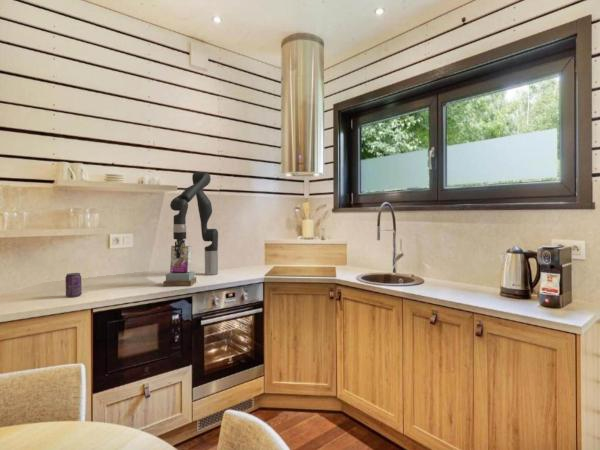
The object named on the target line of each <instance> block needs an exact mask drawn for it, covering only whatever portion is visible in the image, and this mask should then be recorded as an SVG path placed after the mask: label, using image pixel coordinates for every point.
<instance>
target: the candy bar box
mask: <svg viewBox="0 0 600 450" xmlns="http://www.w3.org/2000/svg"><path fill="white" fill-rule="evenodd" d="M170 247H171V250H170V267H169V268H170V269H169V271H170V272H190V271H191V265H192V264H191V260H192V246H191V245H185V246H182V249H181V250H180V258H176V251H175V245H171V246H170ZM170 272H169V273H170Z"/></svg>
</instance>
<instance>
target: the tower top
mask: <svg viewBox="0 0 600 450" xmlns="http://www.w3.org/2000/svg"><path fill="white" fill-rule="evenodd" d="M194 277H195V271H191V270H190V272H169V273H166V274H165V281H189V280H191V279H193V278H194Z"/></svg>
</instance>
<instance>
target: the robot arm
mask: <svg viewBox="0 0 600 450" xmlns="http://www.w3.org/2000/svg"><path fill="white" fill-rule="evenodd" d="M191 179H192V180H191V181H192V185H190V186H188V187H187V188H186V189H184V190H183V192H181V194H179V195H177V196H176V197H174V198H173V199H172V200H171V201H170V204H169V206H170V209H171V210H172V211H175V212H177V211H178V213H177V214H174V215H173V229H172V232H173V233H172V237H173V240H176V241H174V246H175V251H176V258H180V250H181V249H182V246H186V240H187V225H186V221H187V220H186V216H187V214H188V210H189V203H190V202H191V201H192V200H193V198H194V197H196V201H197V209H198V214H199V219H200V229H201V238H202V240H203V241H204V242H211V244H209V245H207V246H205V247H204V275H206V276H214V275H218V274H219V261H218V260H219V257H218V256H219V255H218V253H219V252H218V251H219V250H218V246H219V231H218V229H217V228H208V222H209V220H210V217H211V216H212V214H213V208H212V207H213V206H212V203H211V202H212V201H211V200H210V199H209V198H208V196H207V195H206V194H205V192H204V189H205V188H206V187H207V186H208V185H209V184H210V183H211V181H212V180H211V175H210V173H209V172H206V171H194V172H193V173H192V177H191Z"/></svg>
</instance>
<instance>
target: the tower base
mask: <svg viewBox="0 0 600 450" xmlns="http://www.w3.org/2000/svg"><path fill="white" fill-rule="evenodd" d="M196 283H197V277H196V276H194V278H193V279H191V280H189V281H166V280H163V287H164V288H166V287H167V288H169V287H176V288H177V287H192V286H193V285H194V284H196Z"/></svg>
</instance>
